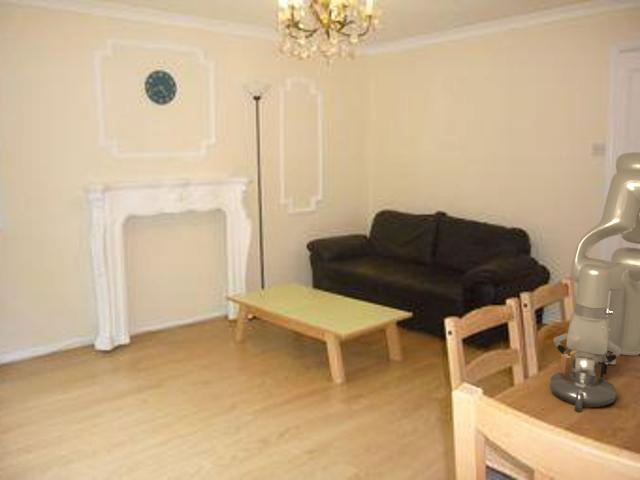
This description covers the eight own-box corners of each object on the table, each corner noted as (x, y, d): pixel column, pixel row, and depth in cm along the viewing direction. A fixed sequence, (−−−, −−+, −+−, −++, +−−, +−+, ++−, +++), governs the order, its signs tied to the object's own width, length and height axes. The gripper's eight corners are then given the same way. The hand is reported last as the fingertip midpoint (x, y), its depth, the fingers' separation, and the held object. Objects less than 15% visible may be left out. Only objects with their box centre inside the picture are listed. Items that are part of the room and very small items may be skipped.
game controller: (612, 360, 172) (613, 352, 172) (626, 377, 161) (627, 368, 160) (591, 359, 173) (592, 351, 172) (604, 375, 162) (605, 366, 161)
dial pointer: (575, 405, 142) (577, 389, 141) (582, 407, 141) (584, 390, 140) (574, 411, 139) (576, 394, 138) (581, 412, 138) (583, 395, 138)
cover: (573, 371, 163) (575, 350, 162) (596, 376, 160) (599, 355, 159) (570, 378, 158) (572, 357, 157) (594, 383, 155) (596, 362, 154)
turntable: (537, 382, 152) (539, 357, 150) (584, 376, 156) (586, 351, 155) (579, 409, 138) (582, 381, 136) (629, 401, 142) (632, 374, 141)
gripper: (627, 312, 155) (620, 374, 158) (557, 302, 163) (551, 361, 166) (627, 320, 148) (619, 385, 151) (554, 309, 156) (548, 370, 159)
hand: (583, 372), depth 159 cm, fingers open, 8 cm apart
